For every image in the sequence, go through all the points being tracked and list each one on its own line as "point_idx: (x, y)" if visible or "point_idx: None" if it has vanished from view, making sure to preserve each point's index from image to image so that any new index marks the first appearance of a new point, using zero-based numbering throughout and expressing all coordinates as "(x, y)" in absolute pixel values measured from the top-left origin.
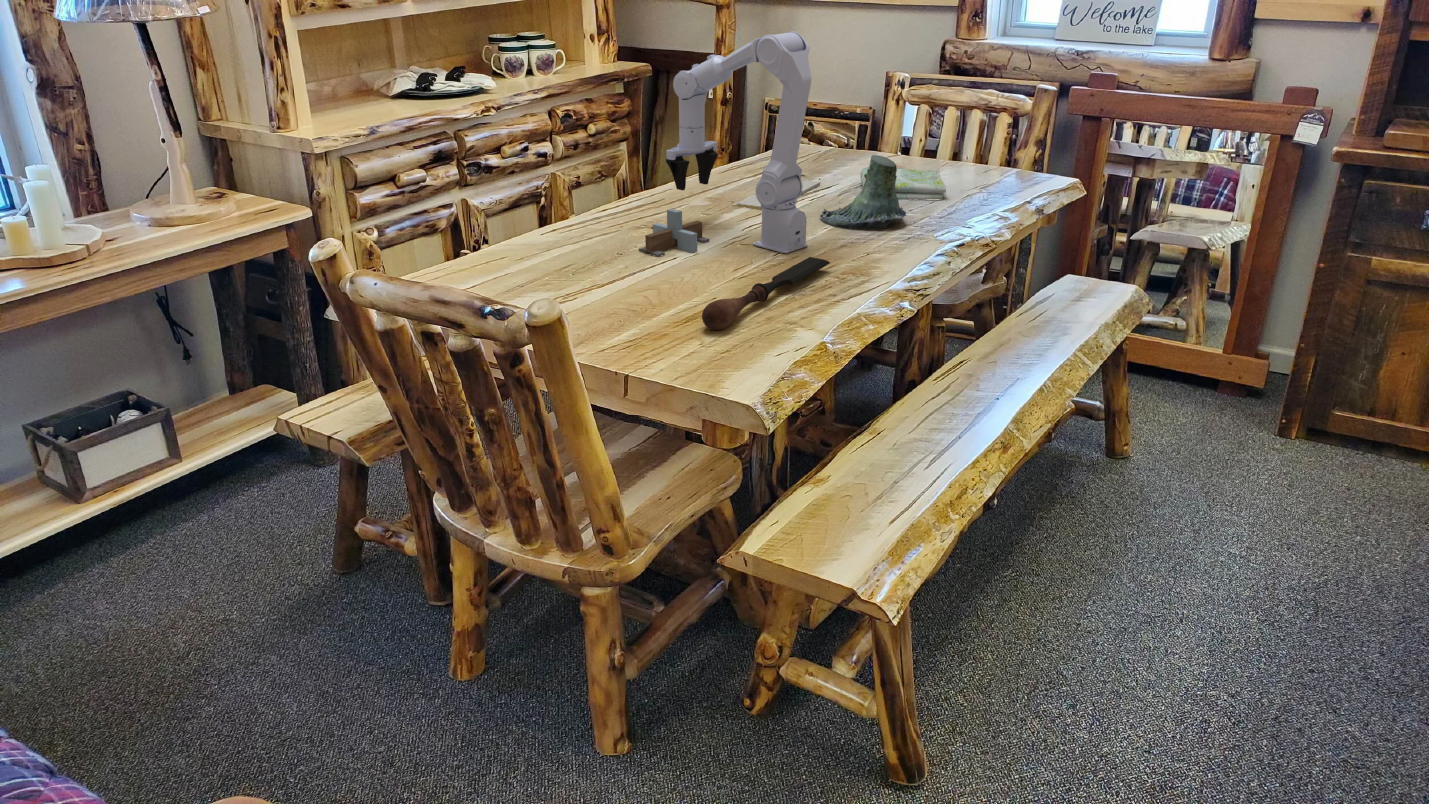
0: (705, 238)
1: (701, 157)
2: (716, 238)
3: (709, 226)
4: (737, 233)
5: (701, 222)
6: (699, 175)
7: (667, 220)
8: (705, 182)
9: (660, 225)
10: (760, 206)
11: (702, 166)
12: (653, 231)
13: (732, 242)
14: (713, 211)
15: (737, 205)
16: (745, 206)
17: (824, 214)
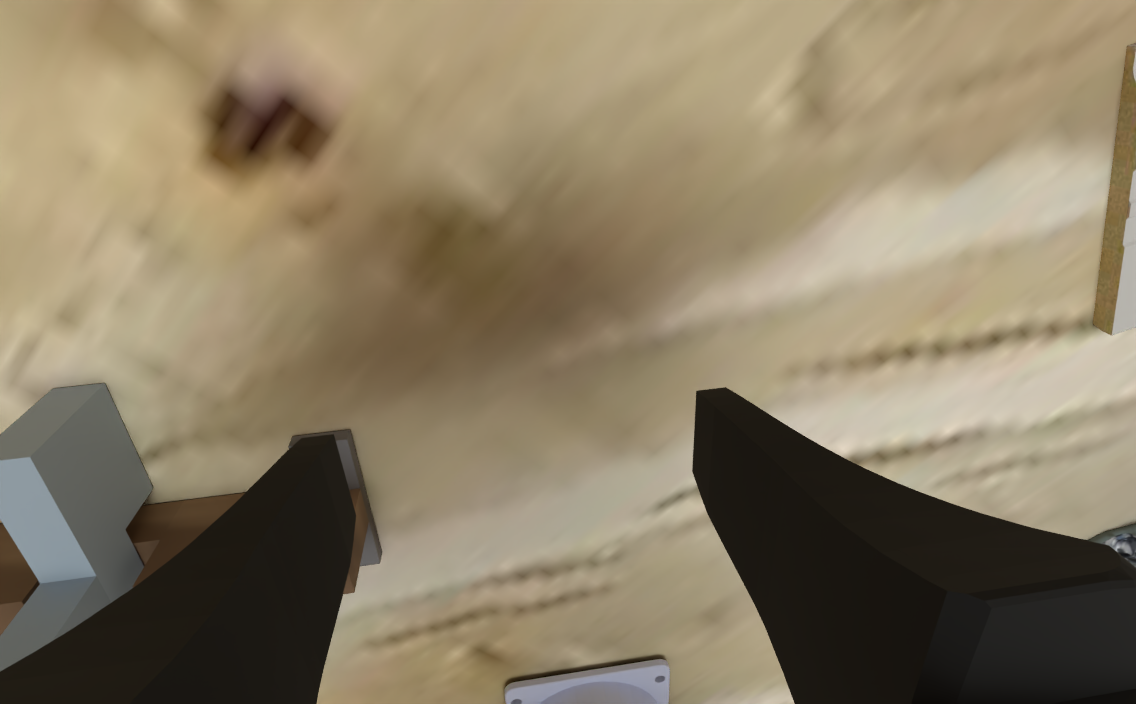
0: (364, 549)
1: (867, 679)
2: (450, 532)
3: (593, 344)
4: (603, 525)
5: (346, 592)
6: (733, 436)
7: (5, 635)
8: (700, 479)
9: (18, 517)
10: (1122, 272)
11: (790, 567)
12: (8, 434)
13: (469, 611)
14: (918, 65)
15: (1129, 94)
16: (1123, 160)
17: (1122, 540)
